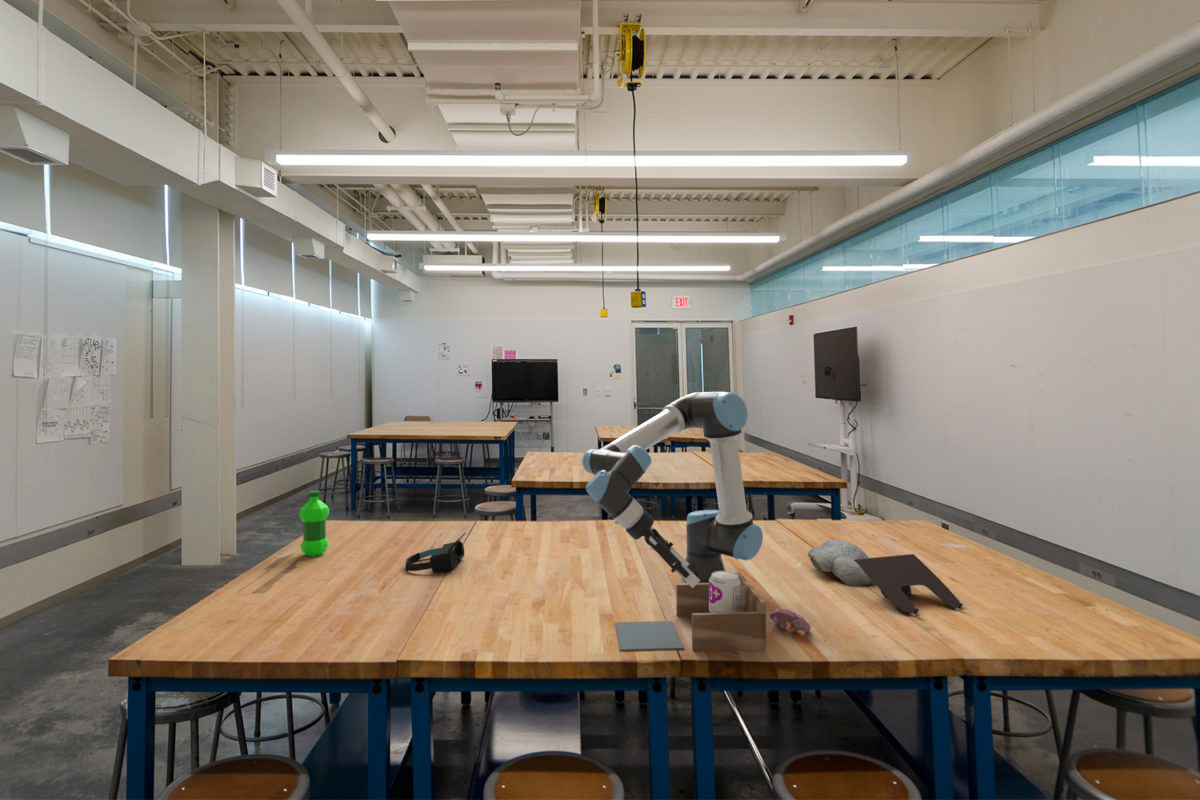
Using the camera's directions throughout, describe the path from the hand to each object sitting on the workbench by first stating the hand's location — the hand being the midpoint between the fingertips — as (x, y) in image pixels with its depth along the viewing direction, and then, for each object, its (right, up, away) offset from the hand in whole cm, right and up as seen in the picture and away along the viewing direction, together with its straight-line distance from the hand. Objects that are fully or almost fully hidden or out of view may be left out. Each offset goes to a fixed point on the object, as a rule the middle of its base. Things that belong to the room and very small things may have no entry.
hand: (690, 575), depth 147 cm
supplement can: (+9, -15, +1) cm, 18 cm away
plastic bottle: (-137, -15, +72) cm, 155 cm away
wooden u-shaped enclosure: (+7, -15, +1) cm, 17 cm away
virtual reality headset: (-85, -15, +58) cm, 104 cm away
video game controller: (+27, -15, +1) cm, 31 cm away
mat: (-12, -15, -2) cm, 19 cm away
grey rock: (+62, -15, +49) cm, 80 cm away
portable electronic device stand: (+70, -15, +21) cm, 75 cm away
